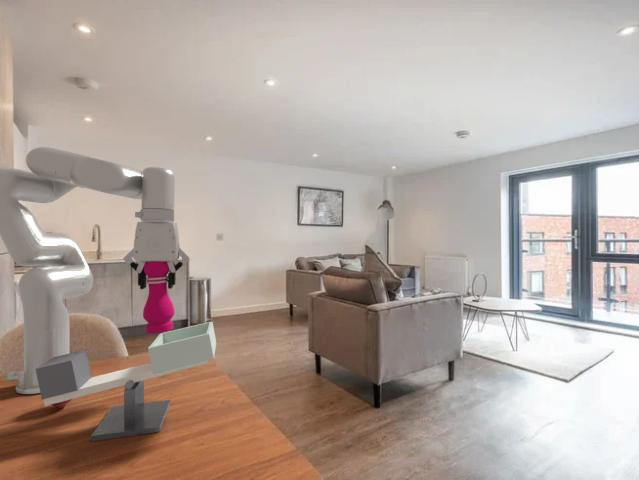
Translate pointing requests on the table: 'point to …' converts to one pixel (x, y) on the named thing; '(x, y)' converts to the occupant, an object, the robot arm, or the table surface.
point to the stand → (132, 416)
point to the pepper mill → (158, 299)
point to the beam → (165, 356)
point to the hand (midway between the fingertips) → (157, 287)
